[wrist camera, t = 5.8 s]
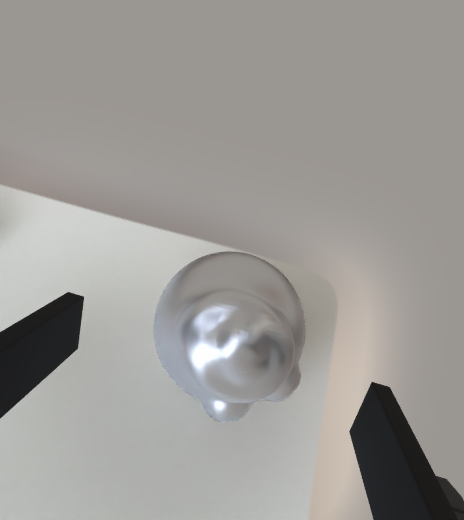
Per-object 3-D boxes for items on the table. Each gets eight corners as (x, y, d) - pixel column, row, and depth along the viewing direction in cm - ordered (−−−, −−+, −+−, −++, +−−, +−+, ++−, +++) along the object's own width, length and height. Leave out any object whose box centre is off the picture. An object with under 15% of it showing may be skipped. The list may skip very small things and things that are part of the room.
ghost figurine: (137, 395, 21) (90, 370, 12) (189, 272, 26) (181, 189, 17) (270, 442, 21) (320, 450, 12) (299, 307, 25) (352, 239, 16)
